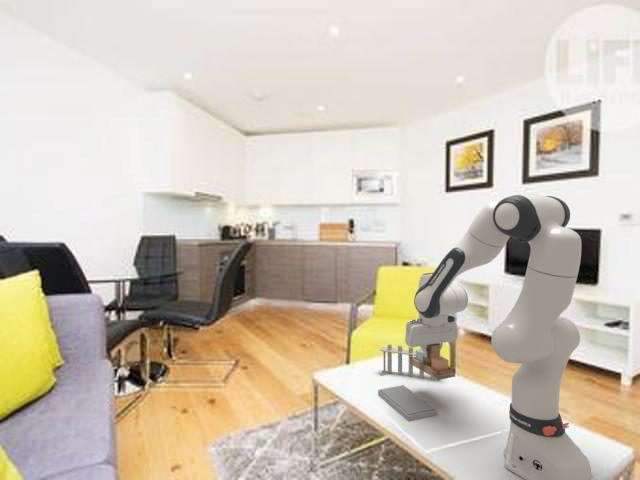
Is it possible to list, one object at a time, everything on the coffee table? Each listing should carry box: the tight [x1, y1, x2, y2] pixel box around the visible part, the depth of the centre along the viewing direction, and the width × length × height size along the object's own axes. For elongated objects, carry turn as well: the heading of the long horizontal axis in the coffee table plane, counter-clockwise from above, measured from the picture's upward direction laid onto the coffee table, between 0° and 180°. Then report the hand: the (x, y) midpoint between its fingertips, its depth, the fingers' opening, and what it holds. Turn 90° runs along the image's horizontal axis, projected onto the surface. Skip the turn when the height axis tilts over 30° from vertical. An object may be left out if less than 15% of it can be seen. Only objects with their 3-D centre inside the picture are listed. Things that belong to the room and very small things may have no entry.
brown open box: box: [410, 344, 456, 381], centre depth 135 cm, size 16×7×10 cm, turn 21°
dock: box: [377, 384, 438, 422], centre depth 132 cm, size 20×11×3 cm, turn 20°
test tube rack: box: [379, 343, 443, 382], centre depth 156 cm, size 25×4×13 cm, turn 66°
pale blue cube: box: [415, 349, 424, 363], centre depth 139 cm, size 4×4×4 cm
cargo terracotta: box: [431, 356, 450, 371], centre depth 131 cm, size 4×4×4 cm
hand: (431, 355), depth 135 cm, fingers closed on brown open box, 3 cm apart
